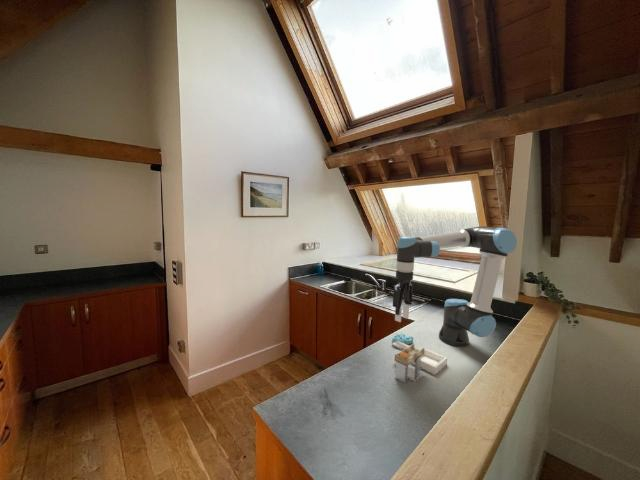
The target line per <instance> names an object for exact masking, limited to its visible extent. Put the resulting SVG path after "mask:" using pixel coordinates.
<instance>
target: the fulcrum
mask: <svg viewBox="0 0 640 480" xmlns="http://www.w3.org/2000/svg"><path fill="white" fill-rule="evenodd" d="M395 362H396V361H395ZM414 362H415V365H414V367H415V368H414V369H413V368H411V367H410V366H409V365H408V366H407V367H406V366H404V365H402V364H400V363H398V362H396V363H395V370H394V373H395V374H394V377H395V379H397V380H398V381H400V382H402V383H404V384H405V383H407V382H408V380H409V381H411V382H412V383H416V382H418V381H419V379H421V378H422V377H423V376H424V374H423V373H421V368H420V362H421V359H419V358H418V359H417V360H415V361H414Z"/></svg>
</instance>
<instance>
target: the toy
mask: <svg viewBox="0 0 640 480" xmlns="http://www.w3.org/2000/svg"><path fill="white" fill-rule="evenodd" d="M396 341H399V342H402V343H404V344H406V345H411V344H414V337H413V336H411V335H409V336H406V335H405V333H400V334H399V333H396V334H395V335H394V336H393V337H392V339H391V344H392V343H394V342H396Z"/></svg>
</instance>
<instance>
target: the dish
mask: <svg viewBox="0 0 640 480" xmlns="http://www.w3.org/2000/svg"><path fill="white" fill-rule="evenodd" d="M422 348H423V347H421V348H420V349H419V350H421V349H422ZM419 359H421V362H420V370H423V371H426V372H428V373H430V374H432V375H434V376H436V375H437V374H438V373H439V372H441V371H442V370H443V369H444V368H446V366H448V357H447V356H444V355H441V354H438V353H436V352H435V351H432V350H430V349H428V348H425V351H424V355H422V356H421V357H419ZM410 365H413V366H415V362H412V363H411V364H410Z"/></svg>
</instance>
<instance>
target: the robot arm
mask: <svg viewBox="0 0 640 480" xmlns="http://www.w3.org/2000/svg"><path fill="white" fill-rule="evenodd" d="M517 239H518V238H517V235H515V233H514V231H512V229H509V228H505V227H500V226H499V227H496V226H483V225H481V226H475V227H468V228H462V229H459V230H457V231H454V232H453V231H452V232H446V233H439V234H433V235H432V234H431V235H424V236H417V237H416V236H415V237H413V236H405V235H404V236H400V237H398V241H397V244H396V245H397V247H396V249H397V251H396V267H395V268H396V270H395V279H397V284H396V285H395V284H394V285H393V297H392V307H393V308H395V310H394V311H395V313H394V321H396V322H398V323H401V322H402V318H404V319H409V314H410V305H413V303H412V302H413V295H414V294H413V292H414V289H413V288H414V283H415V282H414V281H413V279H414V270H415V269H414V267H415V258H416V259H417V258H431V259H432V258H435V257H436V258H437V256H439V254H440V252H441V251H440V250H441V249H446V248H447V249H448V248H455V247H462V248H477V249H479V253H480V255H481V258H480V263H479V266H478V270H477V275H476V278H475V283H474V286H473V290H472V295H471V299H470V301H468V300H466V299H462V298H461V299H459V298H447V299H446V300H445V301H444V308H443V320H442V321H443V323H442V325H441V328H440V330H439V332H438V338H439V340H440V341H441V342H443V343H445V344H447V345H450V346H453V347H467V346H469V344H470V337H469V333H468V332H470V333H471V334H472V335H475V336H477V337H479V338H485V337H486V338H487V337H489V335H491V334H492V333H493V332H494V331H495V330H496V325H497V322H496V319H495V317H493V313H494V311H493V310H492V308H491V306H492V301H493V298H494V294H495V292H496V291H495V289H496V287H497V283H498V279H499V273H500V270H501V266H502V262H503V260H505V259H506V258H508V256H509V255H508V254H511V253H512V252H514V251H515V250H516V248H517V245H518V240H517ZM403 302H404V303H403Z"/></svg>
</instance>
